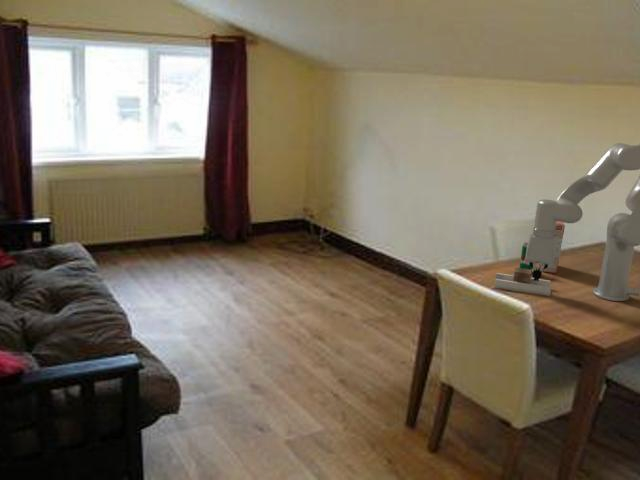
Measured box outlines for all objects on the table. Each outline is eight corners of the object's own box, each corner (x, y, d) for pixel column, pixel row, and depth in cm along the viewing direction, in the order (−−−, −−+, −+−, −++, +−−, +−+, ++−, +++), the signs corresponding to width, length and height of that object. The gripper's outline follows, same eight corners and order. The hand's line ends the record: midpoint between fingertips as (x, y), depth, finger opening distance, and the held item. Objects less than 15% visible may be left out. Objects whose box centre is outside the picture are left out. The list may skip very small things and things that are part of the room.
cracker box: (557, 273, 255) (565, 225, 250) (542, 272, 256) (550, 223, 251) (552, 263, 269) (560, 217, 263) (537, 262, 270) (545, 215, 264)
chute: (549, 288, 237) (550, 280, 236) (549, 296, 229) (551, 288, 228) (495, 280, 243) (496, 272, 242) (494, 287, 235) (495, 279, 234)
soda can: (534, 273, 255) (538, 245, 251) (524, 274, 253) (528, 246, 249) (526, 269, 259) (530, 241, 256) (516, 270, 257) (520, 242, 254)
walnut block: (529, 284, 238) (531, 269, 236) (528, 289, 232) (531, 274, 231) (512, 282, 239) (514, 267, 238) (512, 286, 234) (514, 271, 233)
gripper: (564, 233, 230) (556, 279, 235) (522, 228, 234) (515, 274, 239) (565, 238, 223) (557, 286, 228) (522, 232, 227) (515, 279, 232)
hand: (536, 279), depth 233 cm, fingers closed
